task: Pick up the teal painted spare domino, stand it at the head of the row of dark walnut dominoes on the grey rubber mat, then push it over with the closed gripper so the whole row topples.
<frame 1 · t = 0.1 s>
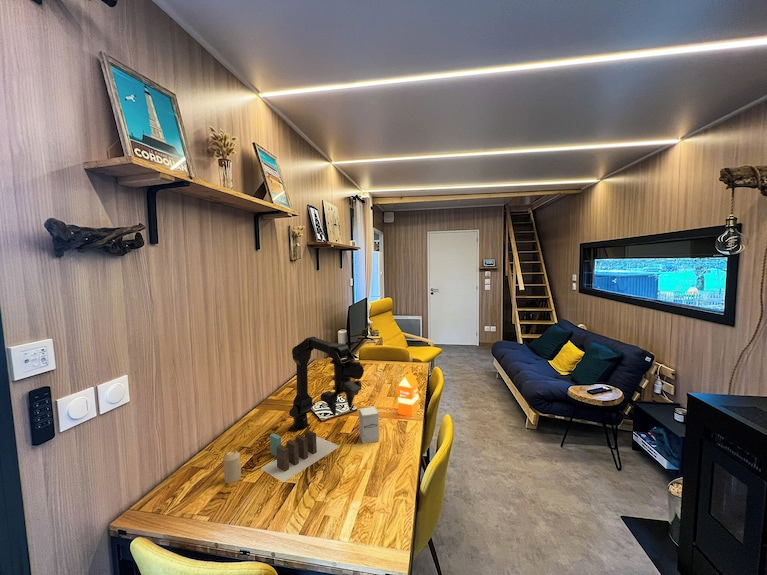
hand: (342, 411, 136), 15 cm above the table, fingers open, 9 cm apart
supplement box: (369, 439, 141), on the table
domino 2: (311, 451, 132), resting on mat
mat: (302, 457, 128), on the table
domino 4: (292, 462, 125), resting on mat
domino 1: (276, 455, 131), on the table
orange juice: (408, 412, 167), on the table
candle: (233, 479, 116), on the table
domino 5: (283, 468, 121), resting on mat
domino 3: (302, 456, 128), resting on mat
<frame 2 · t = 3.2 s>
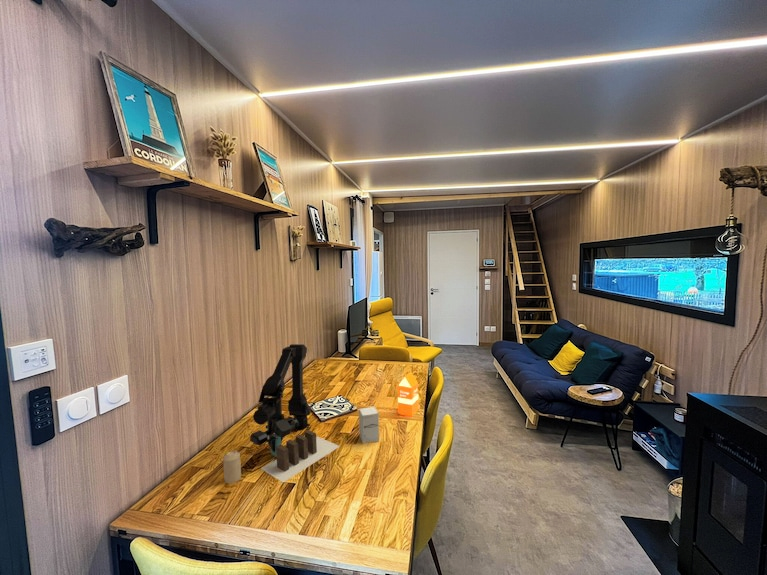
hand: (276, 450, 130), 2 cm above the table, fingers closed on domino 1, 2 cm apart
domino 1: (276, 455, 131), on the table, touching gripper
everything else where it was.
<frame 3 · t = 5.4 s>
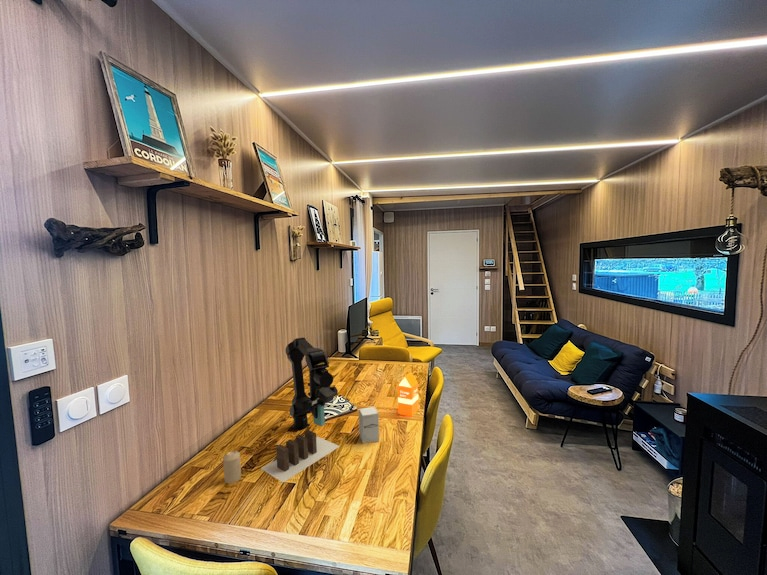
hand: (318, 417, 135), 13 cm above the table, fingers closed on domino 1
domino 1: (319, 423, 135), point 10 cm above the table, touching gripper
everything else where it was.
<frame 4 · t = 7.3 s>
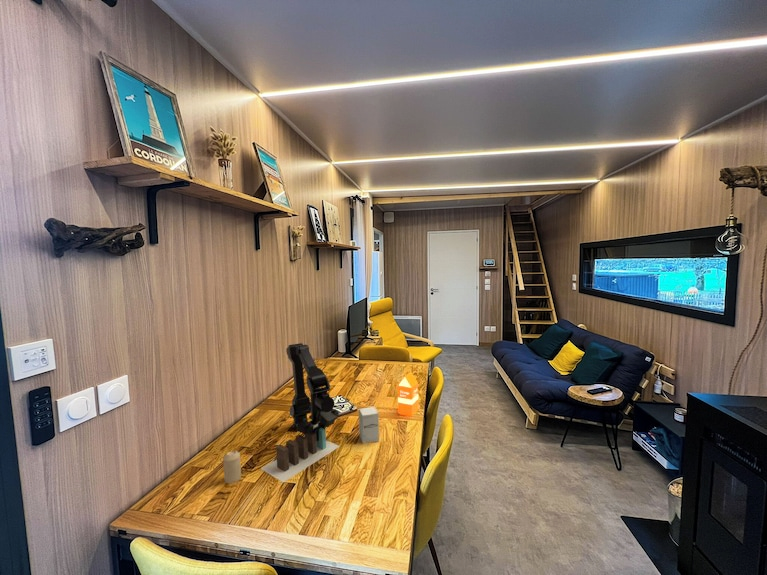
hand: (319, 439, 135), 3 cm above the table, fingers closed on domino 1, 2 cm apart
domino 2: (311, 451, 132), resting on mat, touching gripper
domino 1: (320, 447, 135), resting on mat, touching gripper
everything else where it was.
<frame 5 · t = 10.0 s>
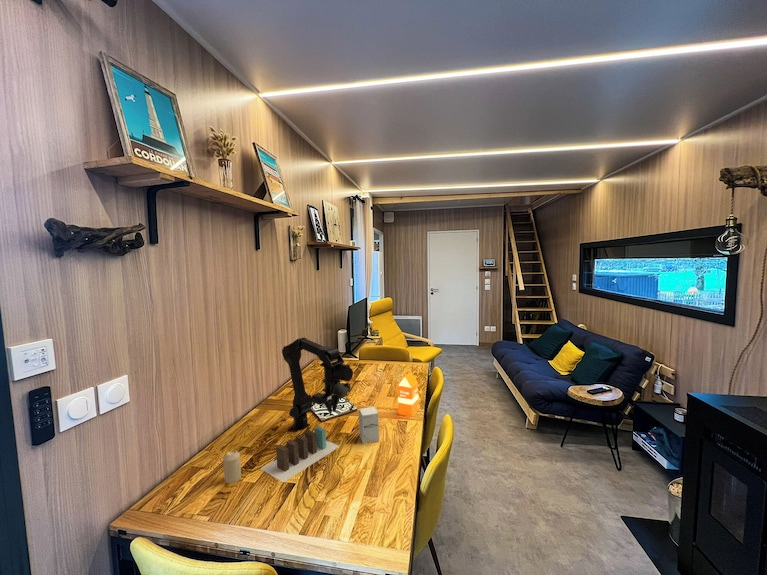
hand: (332, 412, 141), 12 cm above the table, fingers closed
domino 2: (311, 451, 132), resting on mat
domino 1: (320, 446, 135), resting on mat
everything else where it was.
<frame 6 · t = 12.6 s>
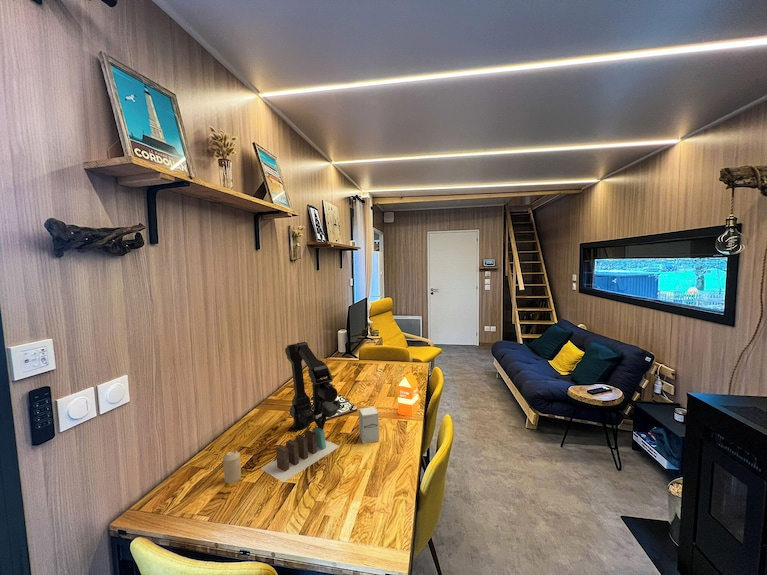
hand: (321, 430, 136), 7 cm above the table, fingers closed
domino 1: (320, 446, 135), resting on mat, tilted 7°
everything else where it was.
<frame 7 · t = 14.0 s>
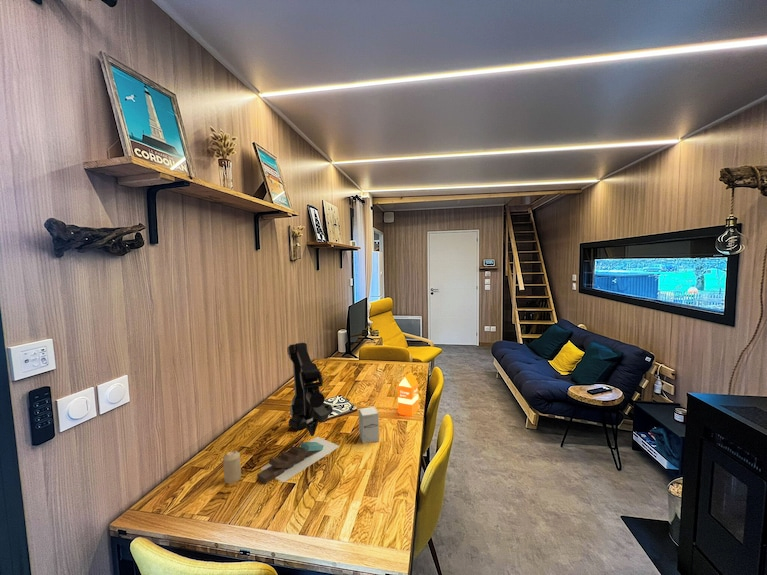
hand: (312, 435, 133), 7 cm above the table, fingers closed
domino 2: (309, 450, 131), point 1 cm above the table, tilted 66°, touching domino 1, domino 3
domino 4: (289, 462, 124), point 1 cm above the table, tilted 65°, touching domino 3, domino 5, mat
domino 1: (319, 445, 135), point 1 cm above the table, tilted 67°, touching domino 2, mat
domino 5: (280, 467, 120), point 1 cm above the table, tilted 90°, touching domino 4, mat
domino 3: (300, 455, 128), point 1 cm above the table, tilted 67°, touching domino 2, domino 4, mat
everything else where it was.
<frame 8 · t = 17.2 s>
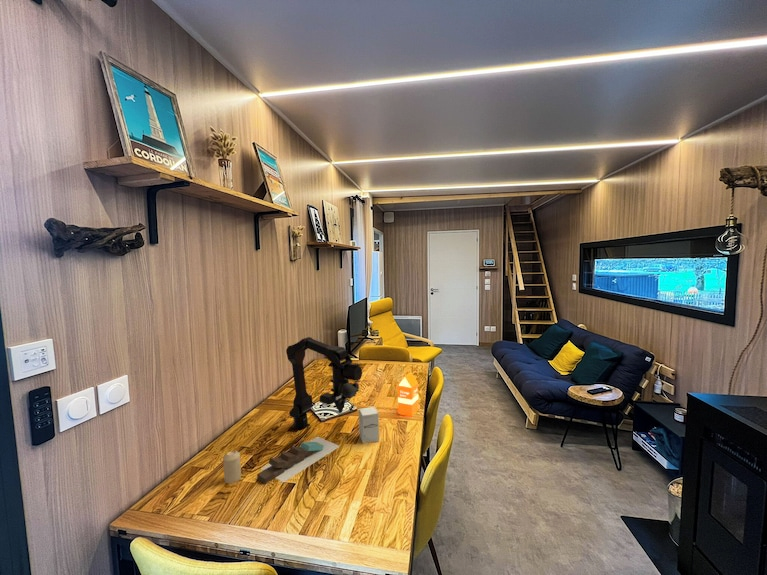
hand: (340, 412, 141), 12 cm above the table, fingers closed
domino 2: (309, 450, 131), point 1 cm above the table, tilted 66°, touching domino 1, domino 3, mat
everything else where it was.
at the end: domino 5 tilted 90°; domino 1 tilted 67°; domino 1 4.7 cm from the domino 2 (horizontally) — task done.
